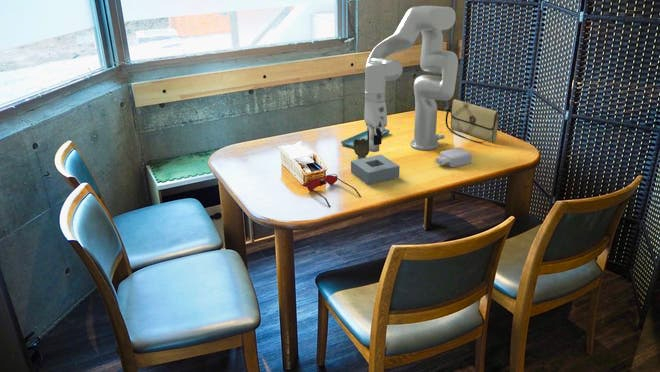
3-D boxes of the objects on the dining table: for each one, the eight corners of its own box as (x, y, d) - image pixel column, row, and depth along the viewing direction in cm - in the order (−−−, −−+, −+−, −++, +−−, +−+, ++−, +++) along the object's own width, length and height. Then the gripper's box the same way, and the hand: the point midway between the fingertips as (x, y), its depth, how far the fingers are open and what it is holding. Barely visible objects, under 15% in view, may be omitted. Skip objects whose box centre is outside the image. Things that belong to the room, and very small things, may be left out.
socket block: (381, 165, 226) (381, 154, 224) (399, 177, 215) (399, 165, 213) (350, 172, 221) (350, 160, 219) (367, 184, 209) (367, 172, 207)
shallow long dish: (355, 150, 244) (355, 145, 243) (340, 146, 250) (340, 141, 249) (390, 135, 262) (390, 130, 261) (375, 131, 268) (375, 126, 266)
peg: (376, 147, 216) (376, 123, 212) (381, 151, 212) (381, 126, 208) (367, 149, 214) (367, 125, 210) (372, 152, 211) (372, 127, 207)
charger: (427, 164, 227) (456, 157, 233) (441, 171, 220) (471, 164, 226) (428, 153, 225) (457, 146, 231) (442, 160, 218) (472, 153, 224)
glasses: (336, 183, 213) (336, 171, 211) (361, 198, 200) (361, 185, 198) (305, 192, 206) (305, 180, 204) (329, 208, 193) (329, 195, 191)
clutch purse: (441, 130, 264) (443, 100, 258) (451, 127, 268) (453, 97, 262) (489, 147, 242) (493, 114, 236) (500, 144, 246) (503, 111, 239)
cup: (369, 162, 230) (369, 144, 227) (351, 161, 232) (351, 143, 228) (371, 155, 237) (371, 138, 234) (354, 154, 238) (354, 137, 235)
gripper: (395, 100, 199) (394, 147, 206) (372, 90, 213) (372, 135, 220) (377, 102, 196) (376, 150, 204) (355, 92, 210) (355, 138, 217)
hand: (374, 142), depth 212 cm, fingers closed on peg, 4 cm apart
